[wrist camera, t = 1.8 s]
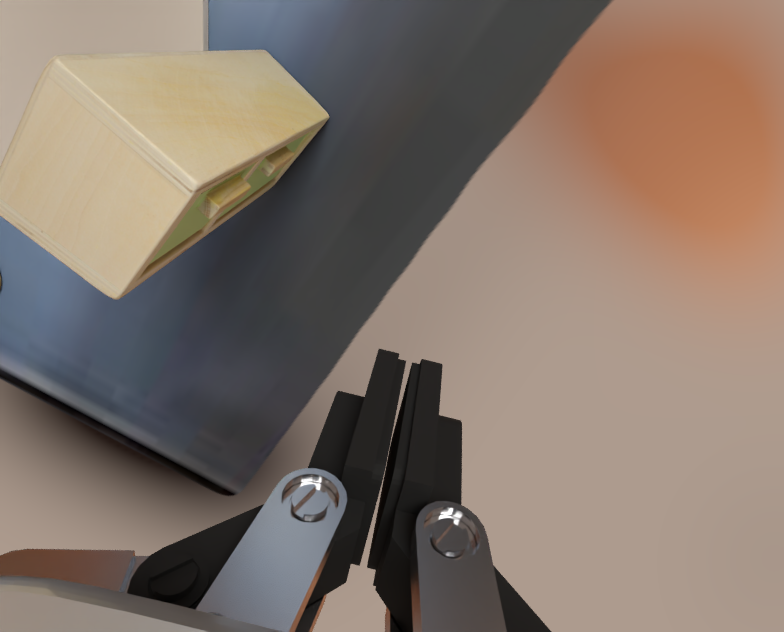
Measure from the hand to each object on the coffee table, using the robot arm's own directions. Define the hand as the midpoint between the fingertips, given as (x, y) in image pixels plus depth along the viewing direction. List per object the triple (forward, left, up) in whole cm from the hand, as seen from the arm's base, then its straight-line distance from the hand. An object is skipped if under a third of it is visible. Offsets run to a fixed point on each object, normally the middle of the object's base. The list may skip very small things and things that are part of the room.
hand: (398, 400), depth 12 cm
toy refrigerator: (0, -14, -29) cm, 32 cm away
